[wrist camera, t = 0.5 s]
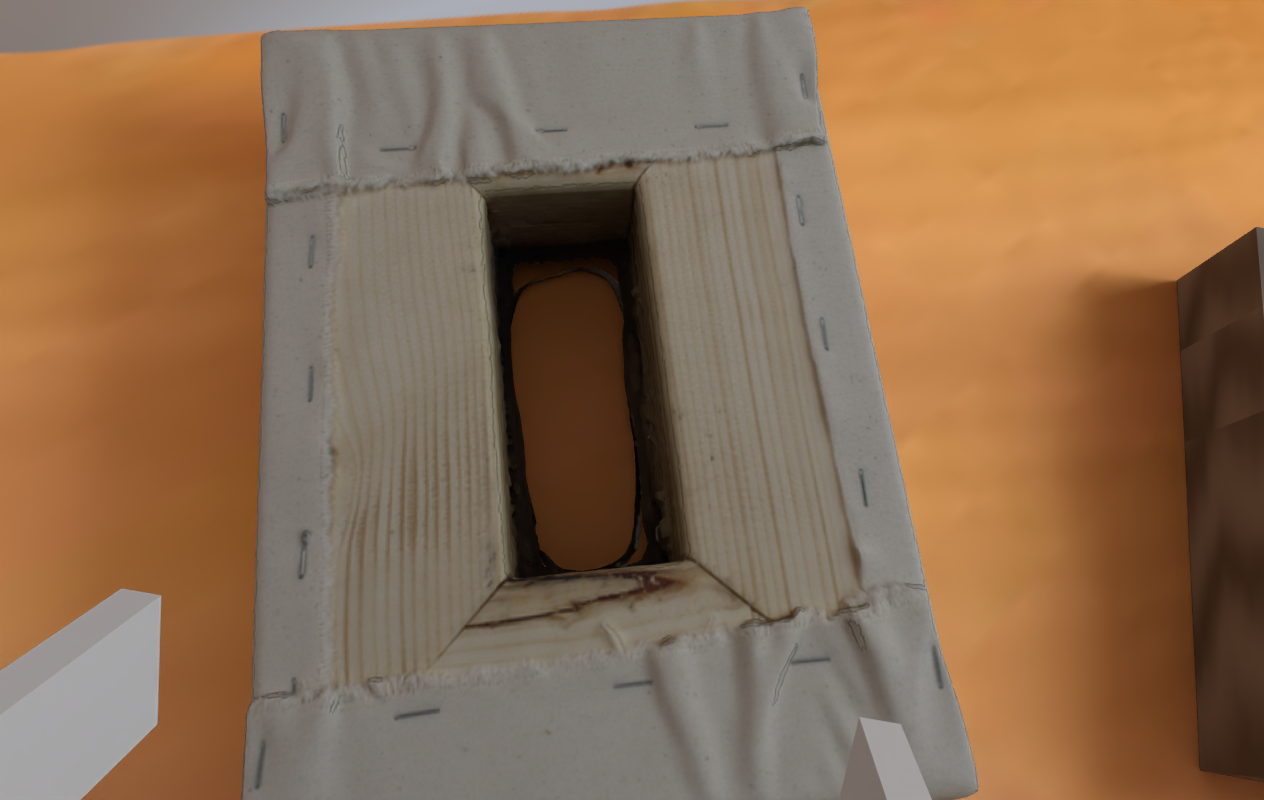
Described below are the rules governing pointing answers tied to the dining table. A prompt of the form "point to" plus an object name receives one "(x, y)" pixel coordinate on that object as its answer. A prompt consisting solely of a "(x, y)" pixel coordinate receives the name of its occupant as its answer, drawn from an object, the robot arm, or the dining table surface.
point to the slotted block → (493, 442)
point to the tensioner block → (1226, 499)
